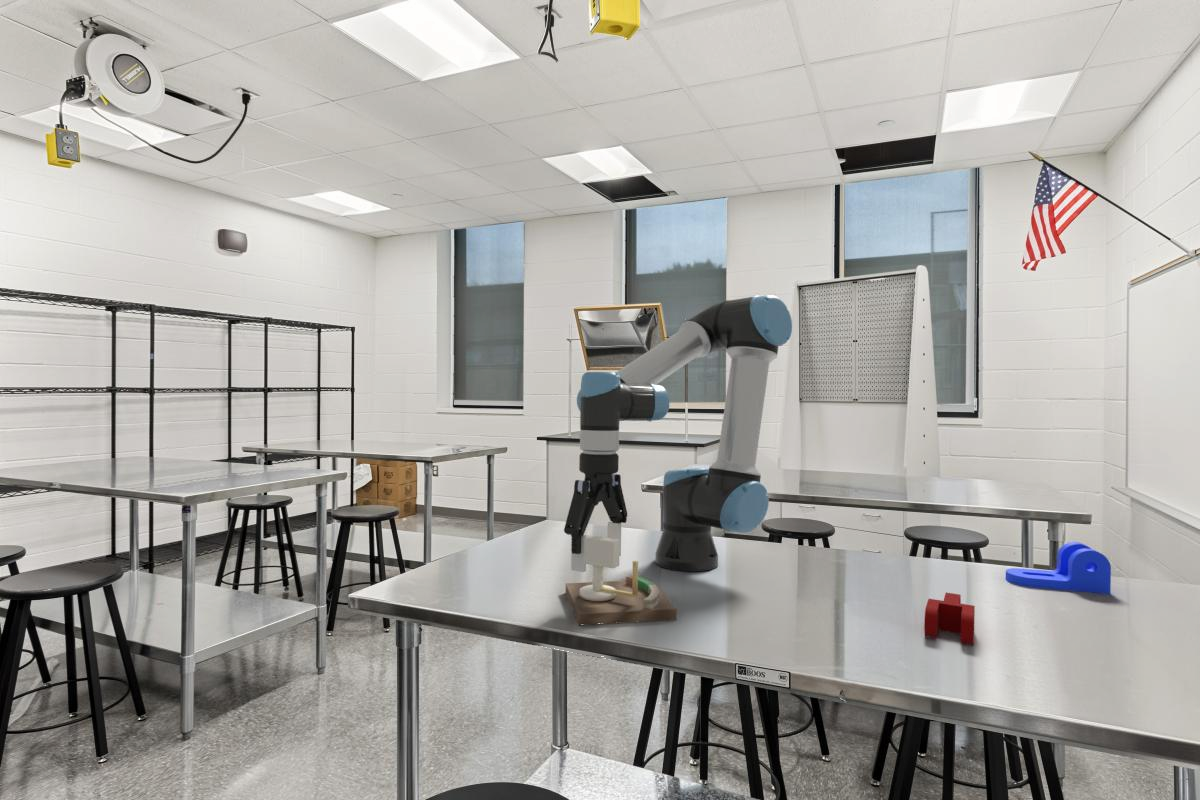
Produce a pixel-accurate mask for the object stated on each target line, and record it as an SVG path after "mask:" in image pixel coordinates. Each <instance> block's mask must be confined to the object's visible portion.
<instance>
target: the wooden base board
mask: <svg viewBox="0 0 1200 800" xmlns="http://www.w3.org/2000/svg"><path fill="white" fill-rule="evenodd" d="M632 582H633V574H632V575H631V574H628V575H627V576H626V577H625V580H612V581H611V580H610V581H603V585H607V586H611V587H613V588H615V589H616V590H621V591H627V592H632ZM587 585H593V581H588V582H585V581H584V582H566V583H565V596H566V598H567V597H568V598H567V601H568V603H569V602H570V603H569V605H570V604H571V605H570V608H571V607H572V608H571V610H572V609H573V610H572V612H574V613H573V615H574V614H575V615H574V617H575V620H576V619H577V620H576V622H577V621H578V622H577V624H579V625H578V626H581V625H580V624H595V625H602V624H601V623H613V624H620V623H619V622H631V623H638V622H637V621H648V622H664V621H677V617H678V616H677V615H678V614H677V609H678V608H677V607H675V605H674V604H673V603H672V602H671V601H670V600H669V599H668V597H667V596H666V595H665V594H664V593H663V592H662V590H661V589H660V588H659V587H658V586H657V584H655V583H654V581H653V580H652V579H646V578H643V577H640V576H638V597H637V598H634V597H628V596H623V595H618V594H616V597H615V598H613V599H611V600H606V601H590V600H585V599H583V598H581V597H580V588H582V587H584V586H587ZM616 622H617V623H616ZM598 623H600V624H598Z"/></svg>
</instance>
